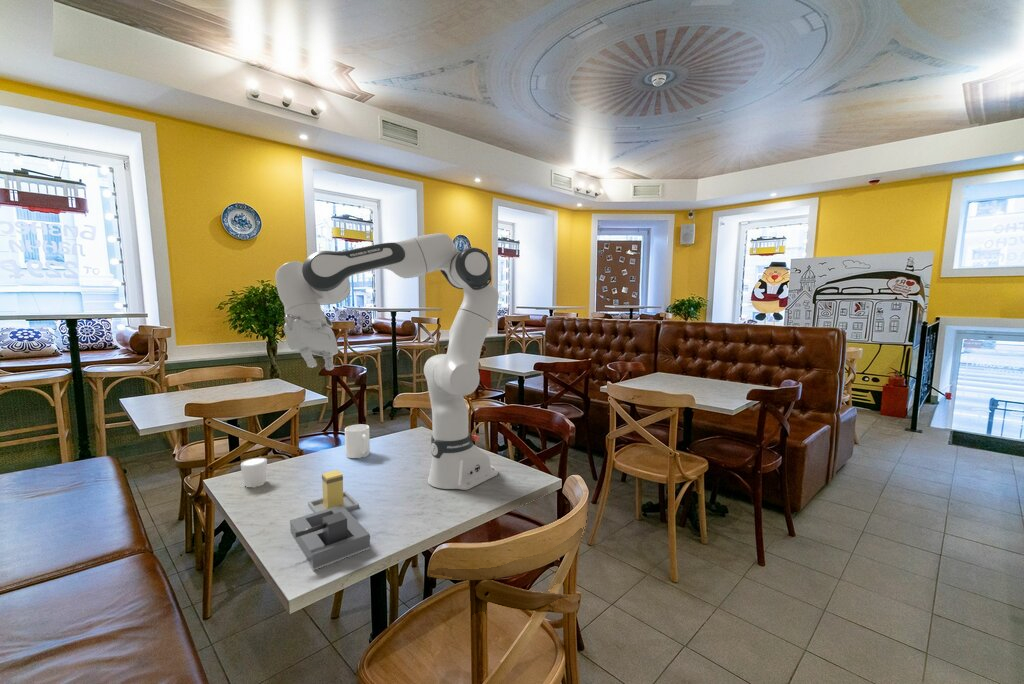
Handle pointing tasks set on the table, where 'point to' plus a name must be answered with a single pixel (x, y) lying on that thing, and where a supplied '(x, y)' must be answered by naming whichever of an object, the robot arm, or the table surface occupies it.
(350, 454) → the cup
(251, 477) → the white cylinder
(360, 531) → the grey socket block
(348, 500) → the tray
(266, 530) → the table surface
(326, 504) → the plug
